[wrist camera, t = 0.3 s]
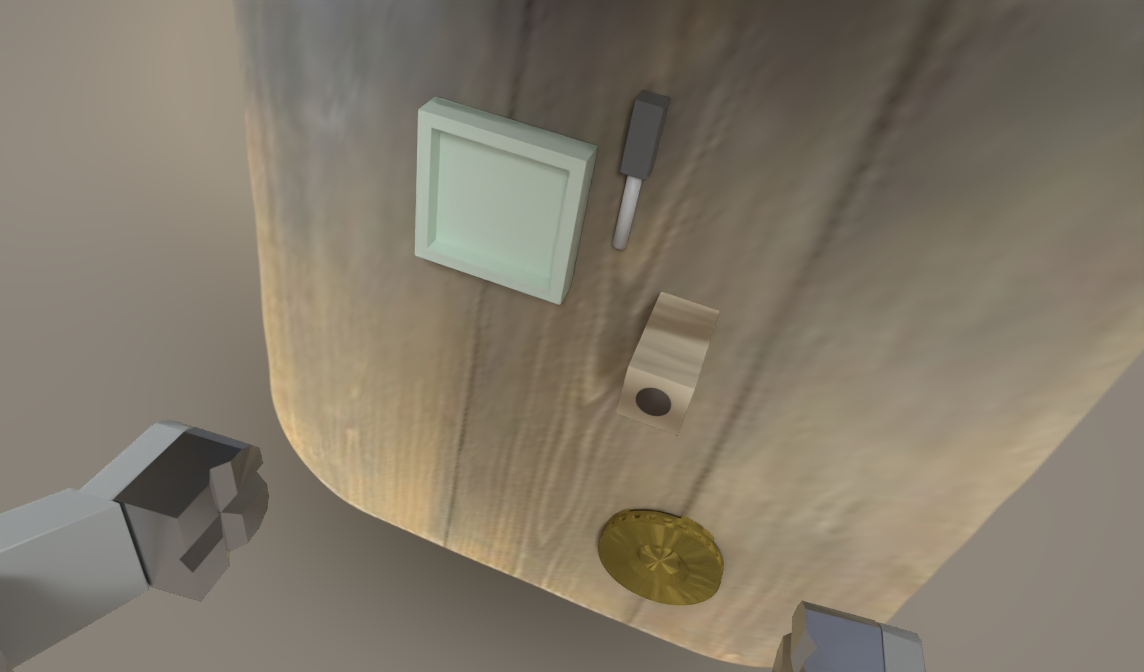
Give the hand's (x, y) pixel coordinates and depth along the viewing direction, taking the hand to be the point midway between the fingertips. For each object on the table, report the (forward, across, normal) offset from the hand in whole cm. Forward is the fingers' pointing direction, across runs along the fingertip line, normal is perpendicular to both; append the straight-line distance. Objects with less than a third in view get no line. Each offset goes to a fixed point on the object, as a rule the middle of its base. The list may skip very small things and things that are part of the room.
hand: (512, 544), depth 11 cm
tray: (+42, +14, +15) cm, 47 cm away
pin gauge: (+41, +4, +10) cm, 42 cm away
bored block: (+42, -1, +22) cm, 47 cm away
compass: (+44, -4, +50) cm, 67 cm away
